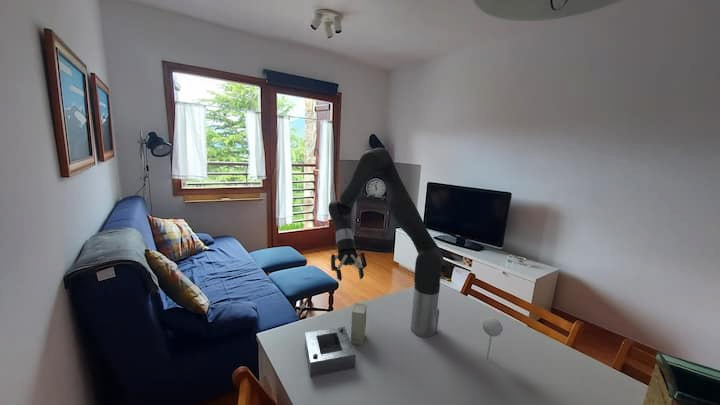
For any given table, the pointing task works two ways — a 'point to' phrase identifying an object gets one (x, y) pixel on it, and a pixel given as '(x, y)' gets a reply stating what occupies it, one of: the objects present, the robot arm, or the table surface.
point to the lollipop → (492, 328)
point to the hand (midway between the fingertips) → (351, 279)
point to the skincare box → (358, 324)
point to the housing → (329, 361)
